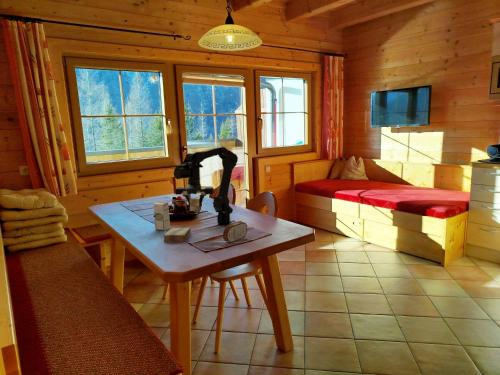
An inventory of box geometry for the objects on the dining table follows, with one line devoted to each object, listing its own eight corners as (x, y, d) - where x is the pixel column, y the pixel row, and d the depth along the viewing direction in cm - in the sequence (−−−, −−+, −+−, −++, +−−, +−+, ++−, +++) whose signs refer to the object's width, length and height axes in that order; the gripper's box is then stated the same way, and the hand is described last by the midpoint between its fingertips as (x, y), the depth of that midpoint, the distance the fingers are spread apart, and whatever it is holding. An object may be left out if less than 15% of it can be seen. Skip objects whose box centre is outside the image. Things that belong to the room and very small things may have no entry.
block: (200, 208, 176) (200, 197, 175) (199, 210, 172) (198, 199, 171) (192, 208, 176) (191, 197, 175) (190, 210, 172) (189, 199, 171)
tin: (243, 235, 169) (243, 218, 167) (248, 236, 167) (248, 219, 165) (222, 243, 158) (221, 226, 156) (227, 245, 156) (227, 227, 154)
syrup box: (170, 227, 185) (168, 201, 182) (164, 230, 179) (162, 203, 177) (161, 226, 187) (159, 201, 184) (155, 230, 181) (153, 203, 179)
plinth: (190, 233, 173) (190, 227, 173) (185, 241, 162) (184, 235, 161) (171, 234, 174) (170, 227, 173) (164, 241, 162) (163, 235, 162)
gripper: (171, 179, 164) (172, 211, 166) (210, 179, 163) (211, 211, 165) (177, 176, 175) (178, 206, 177) (213, 176, 174) (214, 206, 176)
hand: (195, 207), depth 174 cm, fingers closed on block, 4 cm apart
